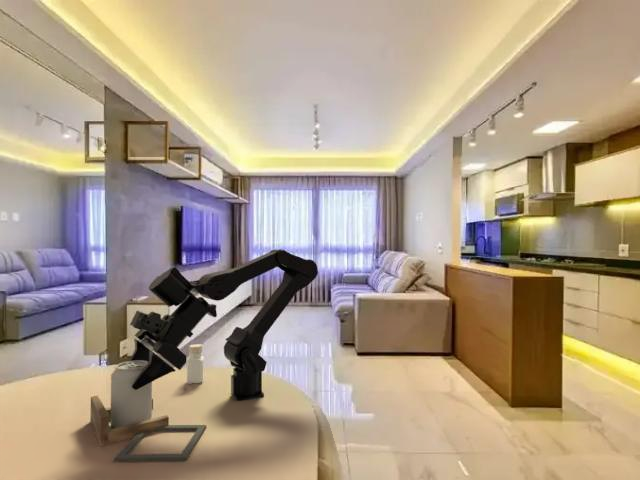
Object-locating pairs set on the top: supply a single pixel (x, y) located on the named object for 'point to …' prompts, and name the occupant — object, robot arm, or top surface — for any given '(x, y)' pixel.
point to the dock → (107, 436)
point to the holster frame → (126, 457)
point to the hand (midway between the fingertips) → (128, 382)
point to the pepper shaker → (195, 364)
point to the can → (129, 395)
